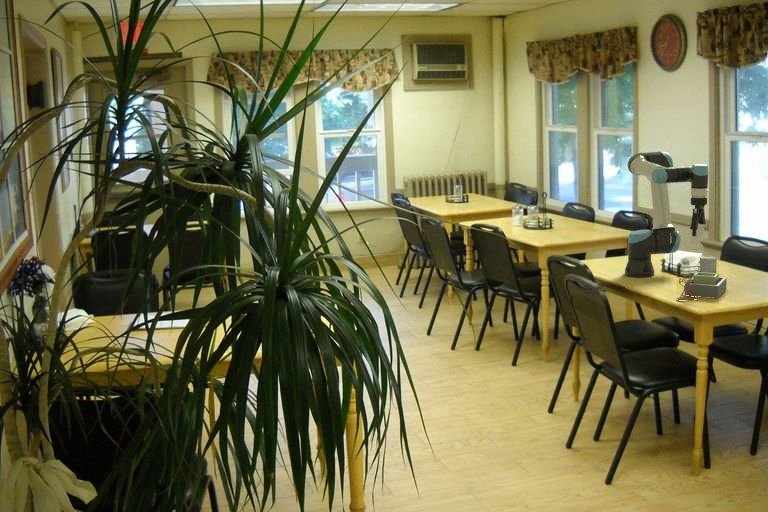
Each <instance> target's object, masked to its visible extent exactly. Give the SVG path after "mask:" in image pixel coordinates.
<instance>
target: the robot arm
mask: <svg viewBox="0 0 768 512" xmlns="http://www.w3.org/2000/svg"><path fill="white" fill-rule="evenodd" d="M627 169H628V171H629V172H630V174H632V175H635V176H643V177H646V179H647V180H648V181H649V182H650V192H651V201H652V211H653V223H654V226H653V228H651V229H639V230H633V231H631V232H630V233H628V240H627V257H628V258H627V263H626V266H625V269H624V275H625V276H628V277H632V278H649V277H653V276H655V268H654V266H653V262H652V255H662V254H663V255H664V254H666V255H667V254H672V253H673V254H674V253H676V252H677V251H678V250H679V248H680V246H681V234H680V232H679V231H678V230H676V228H675V226H674V225H673V224H672V216H671V214H672V213H671V207H670V194H669V184H675V183H676V184H680V183H690V196H691V197H690V205H691V206H694V208H692V214H691V215H692V216H691V224H690V227H689V230H691V237H690V239H691V240H690V241H691V243H693V244H698V238H702V239H703V238H704V235H705V234H704V233H705V232H704V231H705V225H707V224H706V223H707V221H706V215H705V206H707V205H708V197H707V196H708V193H709V190H708V186H709V184H708V183H709V166H708V164H705V163H694V164H692V166H691V165H683V166H677V167H676V166H674V162H673V158H672V156H671V154H670V153H668V152H666V151H654V152H653V151H649V152H638V153H636V154H634V155H632V156H631V157H630V158H629V159H628V161H627ZM670 233H671V235H672V243H671V244H670Z"/></svg>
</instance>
